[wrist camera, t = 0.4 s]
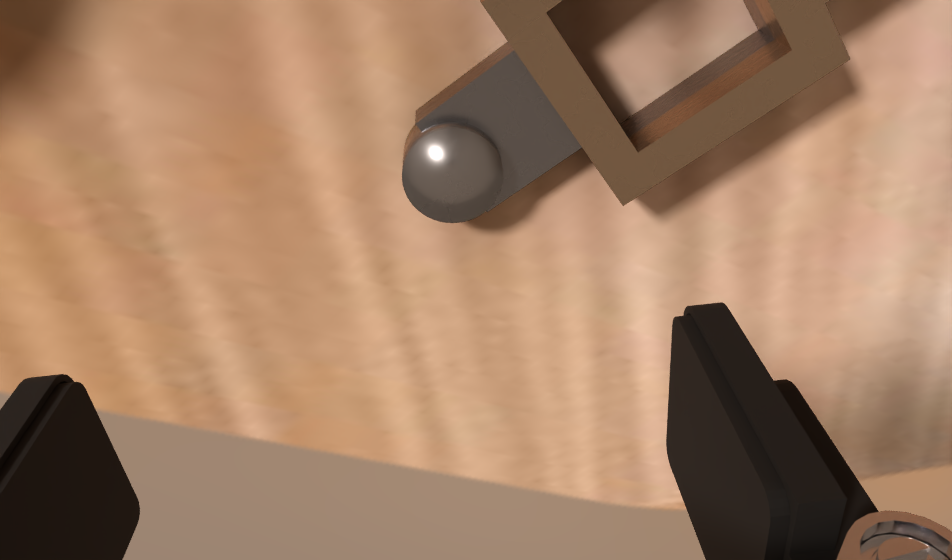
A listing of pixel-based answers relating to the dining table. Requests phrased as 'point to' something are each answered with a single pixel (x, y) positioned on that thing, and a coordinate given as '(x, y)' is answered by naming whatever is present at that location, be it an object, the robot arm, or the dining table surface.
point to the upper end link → (693, 120)
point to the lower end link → (514, 131)
